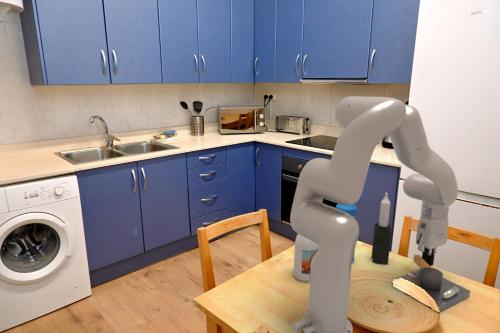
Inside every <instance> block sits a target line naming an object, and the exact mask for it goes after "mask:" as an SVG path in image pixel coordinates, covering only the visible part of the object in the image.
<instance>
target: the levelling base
mask: <svg viewBox="0 0 500 333" xmlns="http://www.w3.org/2000/svg"><path fill="white" fill-rule="evenodd" d="M421 271H422V270H421V269H420V268H419V269H415V270H413V271H411V272H409V273H406V274H403V275H400V277H401V278H403V279H405V280H408V281H410V282H412V283H414V284H415V285H417V286H419V287H421V288H422V289H424V290H425V291H426V292H427V293H428V294H429V295H430V296H431V297H432V298H433V299H434V300H435V302H436V304H437V306H438V307H439V310H440V313H442V312H444V311H445V310H447V309H450V308H451V307H453V306H455V305H456V304H458V303H460V302H462V301H463V302H464V300H466V299H468V298H470V294H471V290H470V289H467V288H465V287H463V286H461V285H459V284H457V283H455V282H453V281H452V280H449V279H447V278H445V277H443V278H442V284H441V288H440V289H438V290H432V289H428V288H426V287H424V286H422V285H421V284H420V278H421Z"/></svg>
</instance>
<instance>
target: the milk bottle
mask: <svg viewBox="0 0 500 333" xmlns="http://www.w3.org/2000/svg"><path fill="white" fill-rule="evenodd" d="M318 251H319V245H318V244H316V243H314V242H313V241H311V240H309V239H307V238H305V237H303V236H301V235H300V234H298V233H297V235H296V237H295V242H294V253H293V254H294V256H293V275H294V277H295V279H297V280H299V281H302V282H306V283H307V282H309V283H310V272H311V271H310V270H311V261H312V258H313V256H314V255H315V254H316V253H317V252H318Z"/></svg>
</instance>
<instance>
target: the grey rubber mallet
mask: <svg viewBox="0 0 500 333" xmlns="http://www.w3.org/2000/svg"><path fill="white" fill-rule="evenodd" d="M413 262H414V263H415V265H416V266H418V267H417V268H419V269H421V270H422V271H421V278H420V284H421V285H422V286H424V287H426V288H428V289H432V290H438V289H440V288H441V284H442V278H444V277H443V276H444V274H443V272H442V271H441V270H439V269H436V268H434V267H431V266H429V265H428V264H427V263H426V262H425V261H424V260H423V259H422V256H421V255H420V254H413Z"/></svg>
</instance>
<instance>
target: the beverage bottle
mask: <svg viewBox="0 0 500 333" xmlns="http://www.w3.org/2000/svg"><path fill="white" fill-rule="evenodd" d="M335 208H336V209H339V210H342V211H344V212H346V213H348V214H349V215H351V216H352V217H353V218H354V219H355V220H356V215H357V206H356V205H355V204H353V205H342V204H339V203H337V204H336V206H335ZM355 250H356V249H354V253H353V258H352V263H353V264H354V262H355V254H356V252H355Z"/></svg>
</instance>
